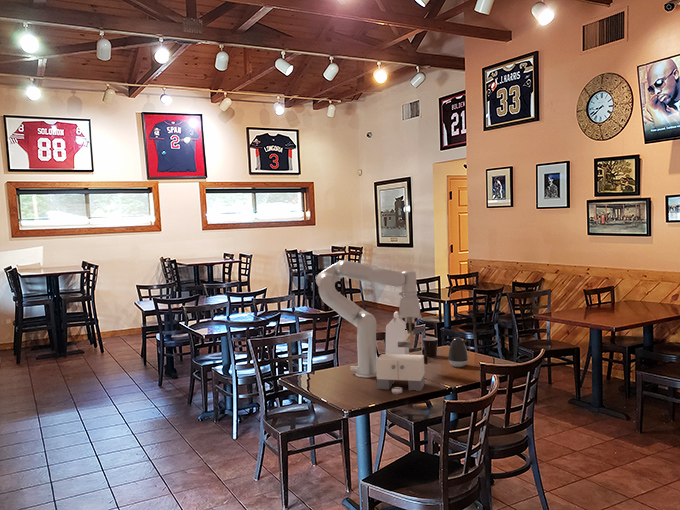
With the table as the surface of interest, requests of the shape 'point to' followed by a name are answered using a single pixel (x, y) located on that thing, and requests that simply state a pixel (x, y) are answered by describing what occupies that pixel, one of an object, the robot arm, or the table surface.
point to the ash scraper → (408, 337)
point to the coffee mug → (430, 347)
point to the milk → (396, 336)
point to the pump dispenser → (458, 353)
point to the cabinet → (400, 370)
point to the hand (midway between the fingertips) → (410, 330)
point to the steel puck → (397, 390)
